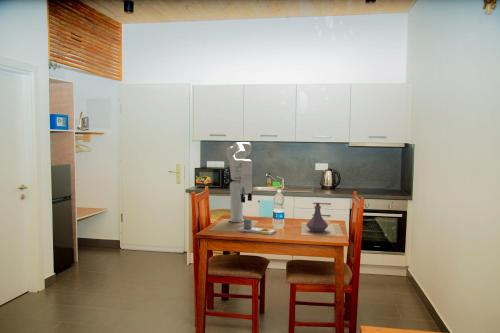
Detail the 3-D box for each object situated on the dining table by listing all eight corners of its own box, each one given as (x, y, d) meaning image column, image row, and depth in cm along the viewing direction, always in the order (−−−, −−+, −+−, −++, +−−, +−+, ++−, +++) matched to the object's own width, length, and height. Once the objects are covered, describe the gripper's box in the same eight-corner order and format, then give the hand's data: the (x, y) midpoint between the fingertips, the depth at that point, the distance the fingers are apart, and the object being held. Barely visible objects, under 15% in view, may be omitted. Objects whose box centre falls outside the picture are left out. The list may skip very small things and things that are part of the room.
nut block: (246, 229, 284) (246, 218, 284) (251, 230, 282) (251, 219, 282) (243, 230, 280) (243, 219, 280) (248, 231, 279) (248, 220, 278)
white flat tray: (243, 228, 288) (243, 225, 288) (276, 232, 277) (276, 229, 276) (237, 230, 280) (237, 228, 280) (270, 234, 268) (270, 232, 268)
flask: (302, 228, 289) (303, 201, 288) (324, 228, 292) (325, 201, 290) (309, 233, 273) (309, 205, 272) (332, 233, 275) (332, 204, 274)
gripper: (247, 176, 288) (247, 199, 289) (235, 178, 273) (235, 202, 274) (257, 176, 285) (256, 200, 286) (245, 178, 269) (245, 203, 270)
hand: (246, 201), depth 280 cm, fingers open, 9 cm apart
